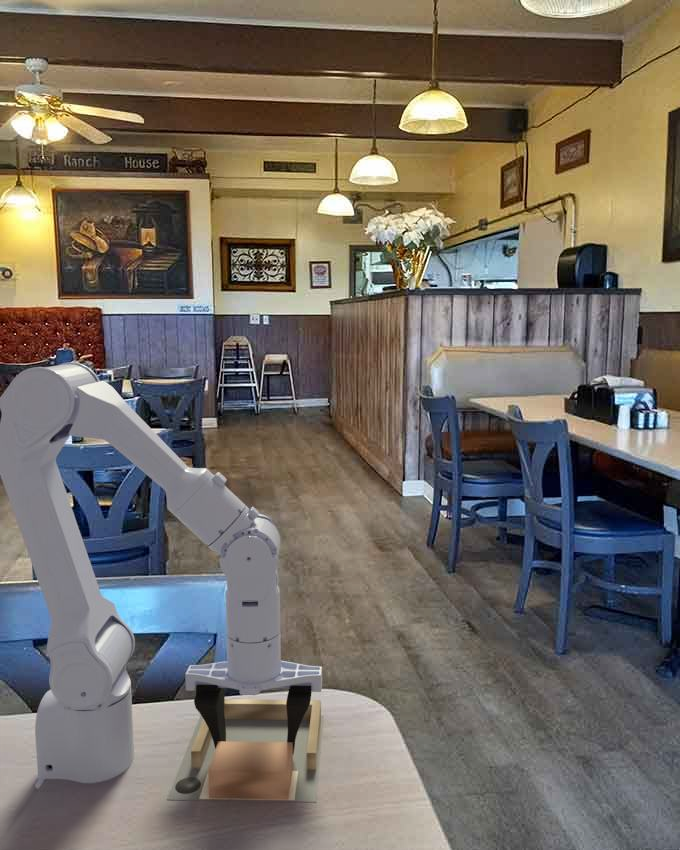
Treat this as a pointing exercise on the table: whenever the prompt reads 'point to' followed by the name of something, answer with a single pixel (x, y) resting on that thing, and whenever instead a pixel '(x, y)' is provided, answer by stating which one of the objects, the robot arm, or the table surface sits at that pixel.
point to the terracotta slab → (251, 770)
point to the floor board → (303, 781)
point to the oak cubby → (263, 712)
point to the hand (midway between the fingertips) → (255, 749)
